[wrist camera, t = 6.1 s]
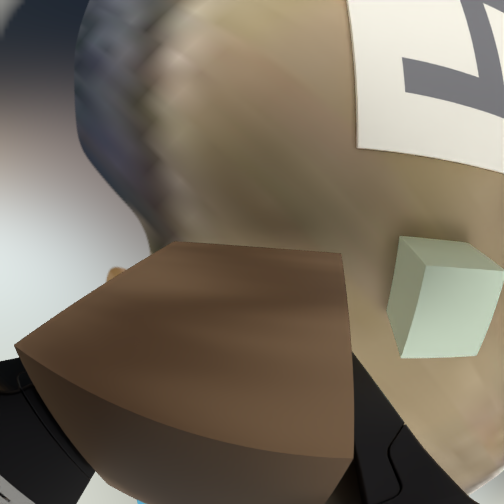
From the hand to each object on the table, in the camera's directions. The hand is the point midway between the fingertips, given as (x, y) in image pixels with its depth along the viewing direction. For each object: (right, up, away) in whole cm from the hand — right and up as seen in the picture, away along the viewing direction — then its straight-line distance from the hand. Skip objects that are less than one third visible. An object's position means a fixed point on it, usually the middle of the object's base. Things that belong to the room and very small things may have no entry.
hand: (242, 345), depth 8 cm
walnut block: (0, 0, +1) cm, 1 cm away
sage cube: (+12, +1, +9) cm, 15 cm away
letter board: (+16, +18, +2) cm, 24 cm away
